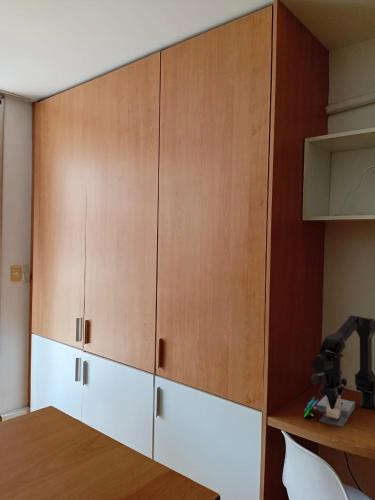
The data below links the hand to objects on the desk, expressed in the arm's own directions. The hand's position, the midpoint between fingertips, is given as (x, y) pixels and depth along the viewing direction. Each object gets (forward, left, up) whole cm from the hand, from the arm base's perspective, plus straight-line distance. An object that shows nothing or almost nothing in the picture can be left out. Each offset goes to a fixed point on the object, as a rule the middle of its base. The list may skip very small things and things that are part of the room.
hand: (333, 406), depth 156 cm
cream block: (0, 0, -4) cm, 4 cm away
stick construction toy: (-1, -9, -6) cm, 11 cm away
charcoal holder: (-13, -3, -6) cm, 14 cm away
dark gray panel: (0, 0, -6) cm, 6 cm away
